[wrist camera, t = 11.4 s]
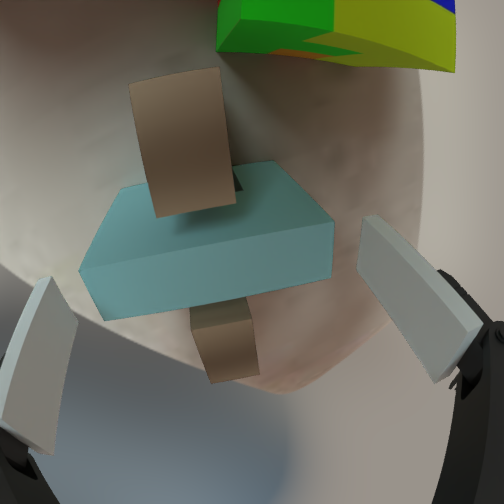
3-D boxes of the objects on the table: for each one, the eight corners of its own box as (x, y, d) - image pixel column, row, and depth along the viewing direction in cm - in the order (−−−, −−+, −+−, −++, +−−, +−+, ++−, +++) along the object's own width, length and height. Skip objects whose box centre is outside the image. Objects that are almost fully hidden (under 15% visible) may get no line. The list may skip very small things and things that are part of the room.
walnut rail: (159, 85, 16) (128, 84, 8) (205, 77, 16) (219, 66, 8) (199, 283, 25) (211, 383, 16) (234, 277, 25) (259, 374, 17)
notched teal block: (131, 225, 21) (104, 321, 12) (121, 188, 19) (78, 270, 11) (275, 198, 22) (331, 277, 14) (273, 160, 20) (334, 221, 12)
